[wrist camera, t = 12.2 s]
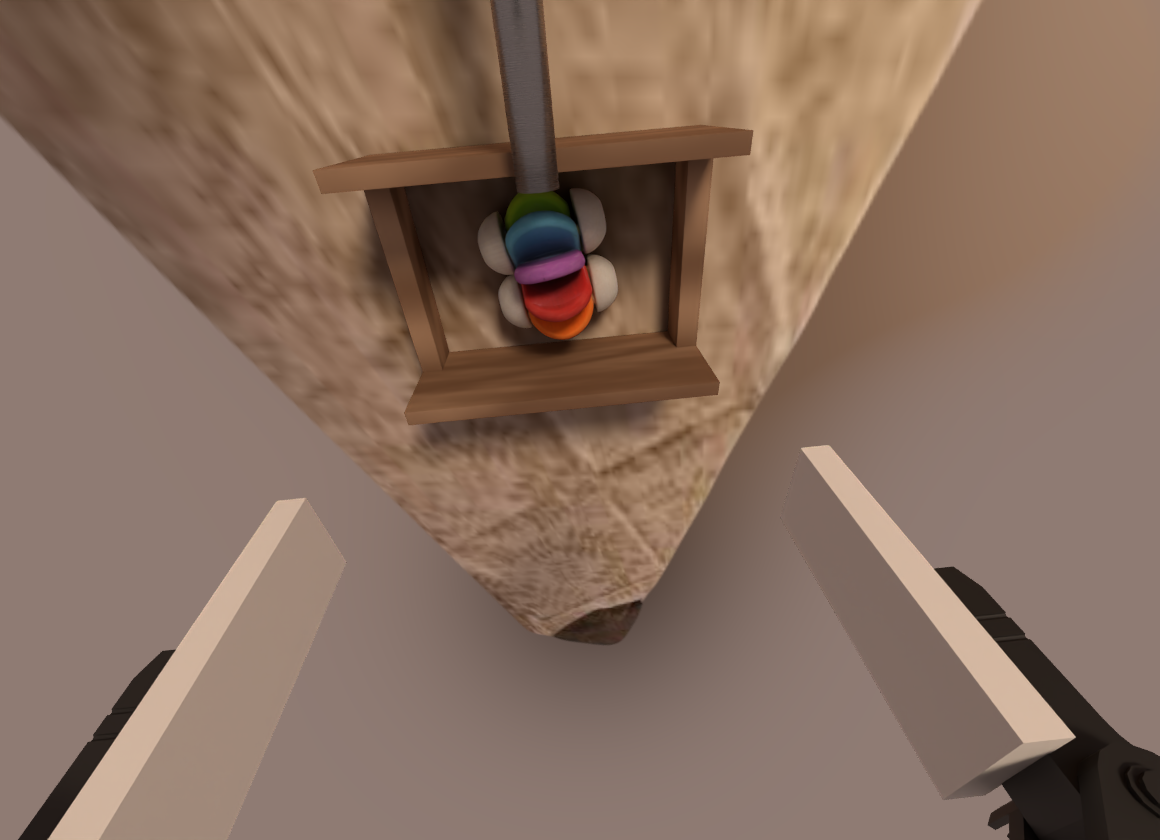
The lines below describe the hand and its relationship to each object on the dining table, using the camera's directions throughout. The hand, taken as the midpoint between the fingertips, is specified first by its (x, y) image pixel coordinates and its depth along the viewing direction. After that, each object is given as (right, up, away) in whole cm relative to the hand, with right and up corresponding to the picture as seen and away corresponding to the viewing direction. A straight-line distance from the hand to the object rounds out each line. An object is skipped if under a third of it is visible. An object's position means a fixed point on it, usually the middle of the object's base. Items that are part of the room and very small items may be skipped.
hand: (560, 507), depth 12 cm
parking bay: (-2, +14, +20) cm, 24 cm away
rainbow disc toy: (-2, +15, +20) cm, 25 cm away
